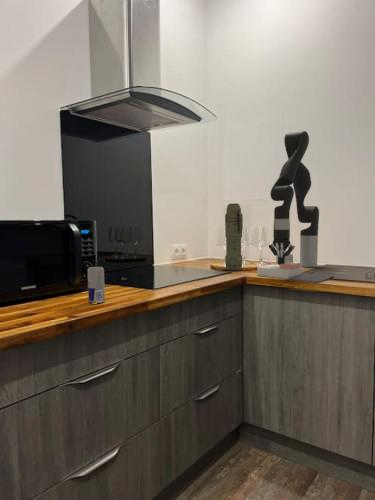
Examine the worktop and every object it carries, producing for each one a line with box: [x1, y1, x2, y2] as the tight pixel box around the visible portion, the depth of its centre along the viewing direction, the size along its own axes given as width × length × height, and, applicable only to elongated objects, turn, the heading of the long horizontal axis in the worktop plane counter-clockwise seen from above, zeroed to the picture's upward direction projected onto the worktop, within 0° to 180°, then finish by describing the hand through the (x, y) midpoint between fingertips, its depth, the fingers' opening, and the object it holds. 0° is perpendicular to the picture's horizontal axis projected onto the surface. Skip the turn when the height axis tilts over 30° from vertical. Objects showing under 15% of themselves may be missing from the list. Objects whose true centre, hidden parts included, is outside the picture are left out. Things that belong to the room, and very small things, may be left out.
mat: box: [287, 272, 335, 284], centre depth 171 cm, size 18×14×1 cm
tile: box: [279, 262, 301, 270], centre depth 178 cm, size 9×6×2 cm, turn 140°
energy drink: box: [87, 266, 106, 304], centre depth 128 cm, size 5×5×12 cm
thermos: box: [224, 202, 244, 272], centre depth 202 cm, size 9×12×35 cm
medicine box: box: [275, 253, 294, 265], centre depth 196 cm, size 8×4×9 cm, turn 84°
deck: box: [256, 264, 303, 280], centre depth 181 cm, size 14×16×4 cm
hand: (281, 264), depth 181 cm, fingers closed
